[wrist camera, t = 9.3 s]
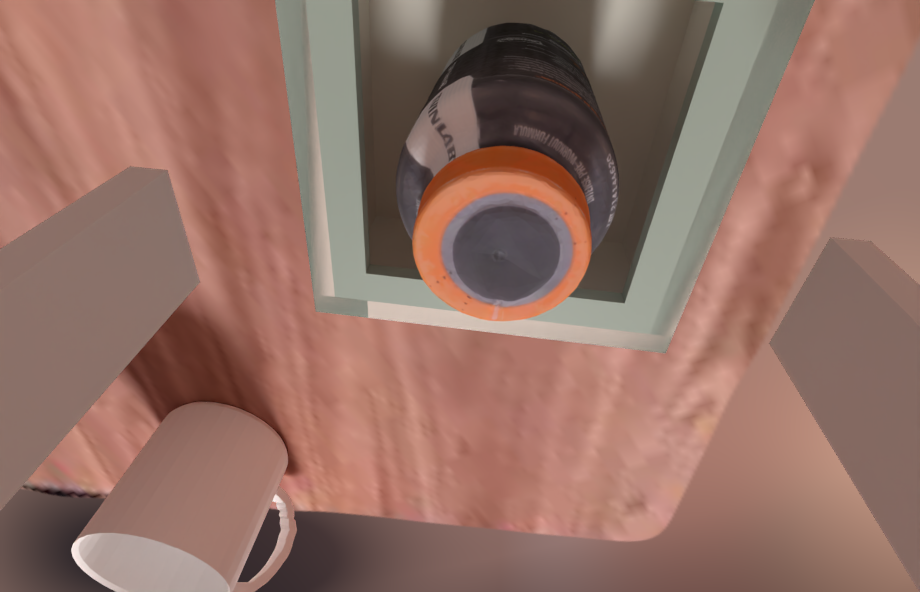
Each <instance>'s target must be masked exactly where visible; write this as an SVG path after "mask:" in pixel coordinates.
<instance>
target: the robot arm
mask: <svg viewBox="0 0 920 592" xmlns="http://www.w3.org/2000/svg"><path fill="white" fill-rule="evenodd" d="M199 283H200V280H199V277H198V274H197V270H196V267H195V263H194V260H193V256H192V253H191V250H190V246H189V243H188V239H187V236H186V232H185V229H184V226H183V222H182V219H181V215H180V212H179V208H178V205H177V202H176V198H175V195H174V191H173V188H172V184H171V181H170V178H169V174H168V171H167V170H161V169H151V168H141V167H131V166H130V167H128V168H127V169H125V170H124V171H122V172H121V173H119V174H117V175H116V176H114V177H113V178H111V179H110V180H108V181H106V182H105V183H103V184H102V185H100V186H99V187H97V188H95V189H94V190H92V191H91V192H89V193H88V194H86V195H84V196H83V197H81V198H80V199H78V200H77V201H75V202H73V203H72V204H70V205H69V206H67V207H66V208H64V209H62V210H61V211H59V212H58V213H56V214H55V215H53V216H51V217H50V218H48V219H47V220H45V221H44V222H42V223H40V224H39V225H37V226H36V227H34V228H33V229H31V230H29V231H28V232H26V233H25V234H23V235H22V236H20V237H18V238H17V239H15V240H14V241H12V242H11V243H9V244H7V245H6V246H4V247H3V248H1V249H0V510H1V509H2V508H3V507H4V506H5V505H6V503H7V502H8V501H9V500H10V499H11V498H12V497H13V496H14V494H15V493H16V492H17V491H18V490H19V489H20V488H21V486H22V485H23V484H24V483H25V482H26V481H27V480H28V478H29V477H30V476H31V475H32V474H33V473H34V472H35V470H36V469H37V468H38V467H39V466H40V465H41V464H42V462H43V461H44V460H45V459H46V458H47V457H48V456H49V454H50V453H51V452H52V451H53V450H54V449H55V448H56V446H57V445H58V444H59V443H60V442H61V441H62V440H63V438H64V437H65V436H66V435H67V434H68V433H69V432H70V430H71V429H72V428H73V427H74V426H75V425H76V424H77V422H78V421H79V420H80V419H81V418H82V417H83V415H84V414H85V413H86V412H87V411H88V410H89V409H90V407H91V406H92V405H93V404H94V403H95V402H96V401H97V399H98V398H99V397H100V396H101V395H102V394H103V393H104V391H105V390H106V389H107V388H108V387H109V386H110V385H111V383H112V382H113V381H114V380H115V379H116V378H117V377H118V375H119V374H120V373H121V372H122V371H123V370H124V369H125V367H126V366H127V365H128V364H129V363H130V362H131V361H132V359H133V358H134V357H135V356H136V355H137V354H138V353H139V351H140V350H141V349H142V348H143V347H144V346H145V345H146V343H147V342H148V341H149V340H150V339H151V338H152V337H153V335H154V334H155V333H156V332H157V331H158V330H159V328H160V327H161V326H162V325H163V324H164V323H165V322H166V320H167V319H168V318H169V317H170V316H171V315H172V314H173V312H174V311H175V310H176V309H177V308H178V307H179V306H180V304H181V303H182V302H183V301H184V300H185V299H186V298H187V296H188V295H189V294H190V293H191V292H192V291H193V290H194V288H195V287H196V286H197V285H198V284H199ZM769 344H770V345H771V347H772V349H773V350H774V352H775V354H776V355H777V357H778V359H779V360H780V362H781V364H782V365H783V367H784V368H785V370H786V372H787V374H788V375H789V377H790V379H791V380H792V382H793V383H794V385H795V387H796V388H797V390H798V392H799V393H800V395H801V397H802V398H803V400H804V402H805V403H806V405H807V407H808V408H809V410H810V412H811V413H812V415H813V417H814V418H815V420H816V422H817V423H818V425H819V427H820V428H821V430H822V432H823V433H824V435H825V437H826V438H827V440H828V441H829V443H830V445H831V446H832V448H833V450H834V451H835V453H836V455H837V456H838V458H839V460H840V461H841V463H842V464H843V466H844V468H845V470H846V471H847V473H848V475H849V476H850V478H851V480H852V481H853V483H854V485H855V486H856V488H857V489H858V491H859V493H860V494H861V496H862V498H863V500H864V501H865V503H866V504H867V506H868V508H869V510H870V511H871V513H872V514H873V516H874V518H875V519H876V521H877V523H878V524H879V526H880V528H881V529H882V531H883V533H884V534H885V536H886V538H887V539H888V541H889V543H890V544H891V546H892V547H893V549H894V551H895V553H896V554H897V556H898V558H899V559H900V561H901V563H902V564H903V566H904V567H905V569H906V571H907V572H908V574H909V576H910V577H911V579H912V580H913V582H914V584H915V586H916V587H917V589H918V591H919V592H920V285H919V284H918V283H917V282H916V281H915V280H914V279H912V278H911V277H910V276H909V275H908V274H907V273H906V272H905V271H904V270H902V269H901V268H900V267H899V266H898V265H897V264H896V263H895V262H894V261H892V260H891V259H890V258H889V257H888V256H887V255H886V254H885V253H883V252H882V251H881V250H880V249H879V248H878V247H877V246H876V245H874V244H873V243H872V242H871V241H864V240H854V239H844V238H834V237H831V238H830V239H829V241H828V243H827V244H826V246H825V248H824V250H823V251H822V253H821V255H820V256H819V258H818V260H817V262H816V263H815V265H814V267H813V269H812V270H811V272H810V274H809V275H808V277H807V279H806V281H805V282H804V284H803V286H802V288H801V289H800V291H799V293H798V294H797V296H796V298H795V300H794V301H793V303H792V305H791V307H790V308H789V310H788V312H787V314H786V315H785V317H784V319H783V320H782V322H781V324H780V325H779V328H778V329H777V331H776V332H775V334H774V336H773V338H772V339H771V341H770V343H769Z"/></svg>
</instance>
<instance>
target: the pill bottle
mask: <svg viewBox="0 0 920 592" xmlns="http://www.w3.org/2000/svg"><path fill="white" fill-rule="evenodd" d="M618 195H619V171H618V165H617V160H616V156H615V153H614V149H613V146H612V143H611V141H610V137H609V135H608V132H607V129H606V126H605V124H604V121H603V118H602V115H601V112H600V110H599V107H598V104H597V101H596V98H595V96H594V93H593V90H592V88H591V85H590V82H589V79H588V78H587V75H586V73H585V70H584V68H583V65H582V63H581V61H580V60H579V58H578V57H577V56H576V54H575V53H574V52H573V50H572V49H571V48H570V46H569V45H568V44H567V43H566V42H565V41H563V40H562V39H561V38H560V37H558V36H557V35H556V34H554V33H553V32H551V31H549V30H545V29H543V28H540V27H538V26H535V25H532V24H526V23H502V24H497V25H493V26H490V27H488V28H486V29H484V30H482V31H480V32H478V33H476V34H474V35H473V36H472V37H470V38H469V39H467V40H466V41H465V42H464V43H463V44H461V46H460V47H459V48H458V49H457V50H456V51H455V52H454V54H453V55H452V56H451V58H450V59H449V61H448V63H447V64H446V66H445V68H444V70H443V72H442V74H441V76H440V77H439V79H438V81H437V83H436V84H435V86H434V88H433V90H432V92H431V94H430V95H429V97H428V100H427V102H426V103H425V105H424V107H423V108H422V110H421V112H420V114H419V116H418V118H417V120H416V122H415V124H414V126H413V128H412V130H411V132H410V133H409V135H408V137H407V139H406V142H405V144H404V146H403V148H402V151H401V154H400V158H399V163H398V166H397V173H396V197H397V203H398V208H399V212H400V215H401V218H402V221H403V224H404V226H405V228H406V231H407V233H408V235H409V236H410V238H411V240H412V246H413V255H414V259H415V263H416V266H417V268H418V270H419V273H420V276H421V277H422V279H423V281H424V282H425V283H426V285H427V286H428V287H429V288H430V289H431V291H432V292H433V293H434V294H435V295H436V296H437V297H438V298H440V299H441V300H442V301H444V302H445V303H446V304H448V305H449V306H450V307H452V308H454V309H456V310H458V311H460V312H461V313H464V314H467V315H469V316H473V317H476V318H479V319H483V320H488V321H514V320H522V319H527V318H531V317H535V316H537V315H540V314H542V313H544V312H546V311H548V310H551V309H552V308H554V307H556V306H557V305H558V304H560V303H561V302H563V301H564V300H565V299H566V298H567V297H568V296H569V295H570V294H571V293H572V292H573V291H574V290H575V289H576V288H577V287H578V285H579V283H580V282H581V280H582V278H583V276H584V275H585V273H586V270H587V268H588V265H589V262H590V258H591V254H592V253H593V252H594V250H595V249H596V248H597V247H598V246H599V244H600V243H601V241H602V240H603V238H604V237H605V235H606V233H607V231H608V229H609V227H610V225H611V222H612V220H613V217H614V214H615V211H616V206H617V201H618Z"/></svg>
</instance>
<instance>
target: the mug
mask: <svg viewBox="0 0 920 592" xmlns="http://www.w3.org/2000/svg"><path fill="white" fill-rule="evenodd" d="M287 465H288V454H287V449H286V447H285V444H284V442H283V440H282V439H281V437H280V436H279V435H278V433H277V432H276V431H275V430H274V429H273V428H272V427H271V426H269V425H268V424H267V423H265V422H264V421H263V420H261V419H260V418H258V417H256V416H255V415H253V414H251V413H249V412H247V411H244V410H242V409H240V408H237V407H233V406H230V405H227V404H222V403H216V402H193V403H189V404H185V405H182V406H180V407H178V408H176V409H174V410H173V411H171V412H170V413H169V414H168V415H167V416H166V417H165V418H164V420H163V421H162V422H161V424H160V425H159V427H158V428H157V429H156V431H155V432H154V433H153V435H152V436H151V438H150V439H149V440H148V442H147V443H146V444H145V446H144V447H143V449H142V450H141V451H140V453H139V454H138V455H137V457H136V458H135V459H134V461H133V462H132V464H131V465H130V466H129V468H128V469H127V470H126V472H125V473H124V475H123V476H122V477H121V479H120V480H119V481H118V483H117V484H116V486H115V487H114V488H113V490H112V491H111V492H110V494H109V495H108V497H107V498H106V499H105V501H104V502H103V504H102V505H101V506H100V508H99V509H98V510H97V512H96V513H95V514H94V516H93V517H92V519H91V520H90V521H89V523H88V524H87V525H86V527H85V528H84V530H83V531H82V532H81V534H80V535H79V536H78V538H77V539H76V541H75V542H74V543H73V546H72V549H71V551H72V556H73V558H74V560H75V561H76V563H77V565H79V567H80V568H81V569H82V570H83V571H84V572H85V573H87V574H88V575H89V576H91V577H92V578H93V579H95V580H96V581H98V582H100V583H101V584H103V585H104V586H106V587H108V588H110V589H112V590H114V591H116V592H254V591H255V590H257V589H258V588H260V587H261V586H263V585H264V584H266V583H267V582H268V581H269V580H270V579H271V577H272V576H274V575H275V573H276V572H277V571H278V569H279V568H280V567H281V565H282V564H283V562H284V561H285V560H286V558H287V557H288V555H289V553H290V551H291V548H292V545H293V540H294V538H295V535H296V531H297V528H296V521H295V520H294V505H293V504H292V501H291V498H290V497H289V495H288V494H287V493H286V492H285V490H283V489H282V488H281V487H280V486H279V485H280V482H281V480H282V478H283V475H284V473H285V471H286V468H287ZM272 501H273V502H277V504H276V506H277V509H278V510H280V513H279V516H280V526H281V532H280V534H279V537H278V542H277V545H276V548H275V550H274V552H273V554H272V555H271V557H270V558H269V560H268V562H267V563H266V565H265V566H264V567H263V568H262V570H261V571H260V572H259V573H258V574H257V575H256V576H255V577H253V578H252V579H251V580H250V581H249V582H237V580H238V578H239V576H240V574H241V571H242V569H243V567H244V564H245V562H246V560H247V558H248V555H249V553H250V551H251V549H252V546H253V544H254V542H255V539H256V537H257V535H258V532H259V530H260V528H261V525H262V523H263V521H264V519H265V517H266V514H267V512H268V509H269V507H270V505H271V503H272Z"/></svg>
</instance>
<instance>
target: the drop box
mask: <svg viewBox="0 0 920 592" xmlns="http://www.w3.org/2000/svg"><path fill="white" fill-rule="evenodd" d="M814 1H815V0H275V3H276V11H277V18H278V26H279V34H280V41H281V49H282V57H283V64H284V72H285V80H286V87H287V95H288V103H289V110H290V118H291V126H292V133H293V141H294V149H295V156H296V164H297V172H298V179H299V187H300V195H301V202H302V210H303V218H304V225H305V233H306V241H307V248H308V256H309V264H310V271H311V279H312V286H313V294H314V302H315V309H316V312H325V313H333V314H341V315H350V316H358V317H366V318H375V319H383V320H391V321H400V322H408V323H417V324H425V325H433V326H442V327H450V328H458V329H467V330H475V331H483V332H492V333H500V334H508V335H517V336H525V337H533V338H542V339H550V340H559V341H567V342H575V343H584V344H592V345H600V346H609V347H617V348H625V349H634V350H642V351H650V352H659V353H666V351H667V349H668V346H669V344H670V342H671V339H672V337H673V334H674V332H675V330H676V327H677V325H678V323H679V320H680V318H681V316H682V313H683V311H684V308H685V306H686V304H687V301H688V299H689V297H690V294H691V292H692V290H693V287H694V285H695V282H696V280H697V278H698V275H699V273H700V271H701V268H702V266H703V263H704V261H705V259H706V256H707V254H708V252H709V249H710V247H711V245H712V242H713V240H714V237H715V235H716V233H717V230H718V228H719V226H720V223H721V221H722V219H723V216H724V214H725V211H726V209H727V207H728V204H729V202H730V200H731V197H732V195H733V192H734V190H735V188H736V185H737V183H738V181H739V178H740V176H741V174H742V171H743V169H744V166H745V164H746V162H747V159H748V157H749V155H750V152H751V150H752V148H753V145H754V143H755V140H756V138H757V136H758V133H759V131H760V129H761V126H762V124H763V121H764V119H765V117H766V114H767V112H768V110H769V107H770V105H771V103H772V100H773V98H774V95H775V93H776V91H777V88H778V86H779V84H780V81H781V79H782V77H783V74H784V72H785V69H786V67H787V65H788V62H789V60H790V58H791V55H792V53H793V50H794V48H795V46H796V43H797V41H798V39H799V36H800V34H801V32H802V29H803V27H804V24H805V22H806V20H807V17H808V15H809V13H810V10H811V8H812V6H813V3H814ZM502 23H526V24H532V25H535V26H538V27H540V28H543V29H545V30H549V31H551V32H553V33H554V34H556V35H557V36H558V37H560V38H561V39H562V40H563V41H565V42H566V43H567V44H568V45H569V46H570V48H571V49H572V50H573V52H574V53H575V54H576V56H577V57H578V58H579V60H580V61H581V63H582V65H583V68H584V70H585V73H586V75H587V78H588V79H589V82H590V85H591V88H592V90H593V93H594V96H595V98H596V101H597V104H598V107H599V110H600V112H601V115H602V118H603V121H604V124H605V126H606V129H607V132H608V135H609V137H610V141H611V143H612V146H613V149H614V153H615V156H616V160H617V165H618V171H619V195H618V201H617V206H616V211H615V214H614V217H613V220H612V222H611V225H610V227H609V229H608V231H607V233H606V235H605V237H604V238H603V240H602V241H601V243H600V244H599V246H598V247H597V248H596V249H595V250H594V252H593V253H592V254H591V258H590V262H589V265H588V268H587V270H586V273H585V275H584V276H583V278H582V280H581V282H580V283H579V285H578V287H577V288H576V289H575V290H574V291H573V292H572V293H571V294H570V295H569V296H568V297H567V298H566V299H565V300H564V301H563V302H561V303H560V304H558V305H557V306H556V307H554V308H552V309H551V310H548V311H546V312H544V313H542V314H540V315H537V316H535V317H531V318H527V319H522V320H514V321H488V320H483V319H479V318H476V317H473V316H469V315H467V314H464V313H461V312H460V311H458V310H456V309H454V308H452V307H450V306H449V305H448V304H446V303H445V302H444V301H442V300H441V299H440V298H438V297H437V296H436V295H435V294H434V293H433V292H432V291H431V289H430V288H429V287H428V286H427V285H426V283H425V282H424V281H423V279H422V277H421V276H420V273H419V270H418V268H417V266H416V263H415V259H414V255H413V246H412V240H411V238H410V236H409V235H408V233H407V231H406V228H405V226H404V224H403V221H402V218H401V215H400V212H399V208H398V203H397V197H396V173H397V166H398V163H399V158H400V154H401V151H402V148H403V146H404V144H405V142H406V139H407V137H408V135H409V133H410V132H411V130H412V128H413V126H414V124H415V122H416V120H417V118H418V116H419V114H420V112H421V110H422V108H423V107H424V105H425V103H426V102H427V100H428V97H429V95H430V94H431V92H432V90H433V88H434V86H435V84H436V83H437V81H438V79H439V77H440V76H441V74H442V72H443V70H444V68H445V66H446V64H447V63H448V61H449V59H450V58H451V56H452V55H453V54H454V52H455V51H456V50H457V49H458V48H459V47H460V46H461V44H463V43H464V42H465V41H466V40H467V39H469V38H470V37H472V36H473V35H474V34H476V33H478V32H480V31H482V30H484V29H486V28H488V27H490V26H493V25H497V24H502Z"/></svg>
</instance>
